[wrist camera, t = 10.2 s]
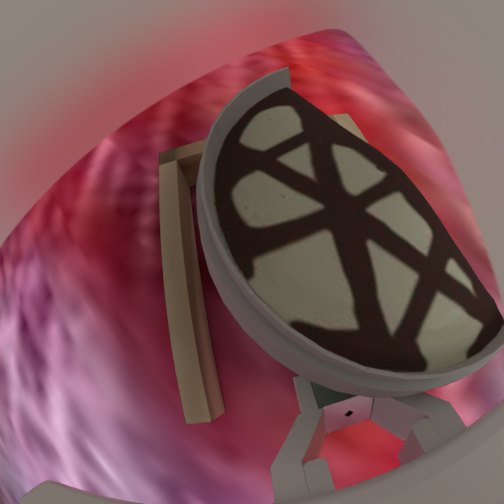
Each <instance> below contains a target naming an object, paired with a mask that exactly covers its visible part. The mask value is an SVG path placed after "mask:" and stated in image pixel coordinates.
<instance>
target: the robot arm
mask: <svg viewBox="0 0 504 504" xmlns="http://www.w3.org/2000/svg"><path fill="white" fill-rule="evenodd" d="M293 380H294V385H295V390H296V395H297V400H298V405H299V409H300V413H301V414H298V415H297V417H296V419H295V422H294V424H293V426H292V428H291V430H290V432H289V434H288V436H287V438H286V440H285V442H284V444H283V445H282V447H281V449H280V451H279V453H278V455H277V457H276V459H275V460H274V462H273V464H272V466H271V468H270V469H271V476H272V484H273V492H274V499H275V503H274V504H504V399H503V400H502V401H501V402H500V403H499V404H497V405H496V406H495V407H494V408H493V409H491V410H490V411H489V412H488V413H486V414H485V415H484V416H482V417H481V418H480V419H479V420H477V421H476V422H474V423H473V424H472V425H470V426H469V427H466V426H465V424H464V423H463V421H462V420H461V418H460V417H459V415H458V414H457V412H456V411H455V409H454V408H453V406H452V405H451V404H450V402H447V401H445V400H442V399H440V398H437V397H434V396H432V395H429V394H427V393H424V392H420V393H416V394H412V395H408V396H404V397H379V398H370V397H364V396H358V395H353V394H348V393H343V392H338V391H334V390H332V389H329V388H327V387H324V386H322V385H319V384H317V383H314V382H312V381H310V380H307V379H305V378H303V377H301V376H296V377H293ZM369 419H371V420H372V421H373V422H375V423H376V424H378V425H379V426H381V427H382V428H384V429H386V430H387V431H389V432H390V433H392V434H394V435H395V436H397V437H398V438H400V439H402V440H403V441H405V442H404V445H403V447H402V449H401V451H400V453H399V455H398V456H397V457H398V459H399V461H400V463H401V466H399V467H397V468H395V469H392V470H390V471H388V472H385V473H383V474H381V475H378V476H376V477H373V478H370V479H368V480H365V481H362V482H359V483H356V484H354V485H351V486H347V487H344V488H341V489H338V490H335V487H334V484H333V480H332V477H331V474H330V470H329V467H328V463H327V460H325V459H322V458H319V459H317V458H318V456H319V453H320V450H321V448H322V445H323V442H324V439H325V436H326V433H330V432H333V431H336V430H339V429H342V428H345V427H347V426H351V425H354V424H357V423H360V422H363V421H366V420H369ZM19 504H142V503H136V502H130V501H125V500H119V499H115V498H110V497H106V496H102V495H98V494H94V493H90V492H87V491H83V490H80V489H77V488H74V487H71V486H68V485H65V484H62V483H60V482H57V481H53V480H46V481H44V482H42V483H40V484H39V485H37V486H36V487H34V488H33V489H32V490H30V491H29V492H28V493H26V494H25V495H24V496H23V497H22V499H21V501H20V502H19Z"/></svg>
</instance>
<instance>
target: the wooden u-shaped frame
mask: <svg viewBox="0 0 504 504" xmlns="http://www.w3.org/2000/svg"><path fill="white" fill-rule="evenodd" d="M328 117H330V118H331V119H332V120H334V121H335V122H337V123H338V124H340V125H341V126H342V127H344V128H345V129H347V130H348V131H350V132H351V133H353V134H354V135H356V136H357V137H359V138H360V139H362V140H363V141H365V142H366V143H368V142H367V140H366V139H365V137H364V136H363V135H362V133H361V132H360V130H359V129H358V127H357V126H356V124H355V123H354V122H353V120H352V119H351V117H350V116H349V115H348V114H338V115H329V116H328ZM205 142H206V139H205V140H201V141H198V142H194V143H191V144H187V145H184V146H181V147H177V148H174V149H171V150H168V151H165V152H162V153H160V154H159V209H160V236H161V253H162V267H163V279H164V290H165V300H166V309H167V317H168V325H169V332H170V339H171V346H172V353H173V359H174V365H175V371H176V376H177V382H178V387H179V392H180V397H181V402H182V407H183V411H184V416H185V420H186V424H192V423H204V422H212V421H213V420H214V419H216V418H217V417H219V416H220V415H221V414H223V413H224V412H225V407H224V403H223V398H222V394H221V389H220V384H219V379H218V375H217V370H216V365H215V359H214V354H213V349H212V343H211V338H210V332H209V327H208V321H207V315H206V309H205V303H204V296H203V290H202V283H201V277H200V270H199V262H198V255H197V247H196V239H195V231H194V223H193V214H192V205H191V195H190V187H192V186H195V185H196V184H197V178H198V172H199V166H200V161H201V158H202V154H203V148H204V144H205Z"/></svg>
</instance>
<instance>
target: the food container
mask: <svg viewBox="0 0 504 504" xmlns="http://www.w3.org/2000/svg"><path fill="white" fill-rule="evenodd" d="M196 199H197V217H198V224H199V230H200V237H201V243H202V247H203V251H204V255H205V259H206V262H207V266H208V270H209V273H210V275H211V277H212V280H213V282H214V284H215V286H216V288H217V290H218V292H219V294H220V296H221V299H222V301H223V303H224V304H225V305H226V307H227V308H228V310H229V311H230V312H231V314H232V315H233V317H234V318H235V319H236V321H237V322H238V323H239V325H240V326H241V328H242V329H243V330H244V331H245V332H246V333H247V334H248V335H249V336H250V337H251V338H252V339H253V340H254V341H255V342H256V343H257V344H258V345H259V346H260V347H261V348H262V349H263V350H264V351H265V352H266V353H267V354H268V355H269V356H271V357H272V358H273V359H275V360H276V361H278V362H279V363H281V364H282V365H284V366H285V367H287V368H288V369H290V370H292V371H293V372H295V373H296V374H298V375H299V376H301V377H303V378H305V379H307V380H310V381H312V382H314V383H317V384H319V385H322V386H324V387H327V388H329V389H332V390H334V391H338V392H343V393H348V394H353V395H358V396H364V397H370V398H379V397H404V396H408V395H412V394H416V393H420V392H424V391H428V390H431V389H435V388H438V387H441V386H444V385H447V384H450V383H453V382H455V381H458V380H460V379H462V378H464V377H465V376H467V375H469V374H471V373H472V372H474V371H476V370H478V369H479V368H481V367H482V366H484V365H485V364H486V363H487V362H488V361H489V360H490V359H492V358H493V357H494V356H495V355H496V354H497V353H498V352H499V351H500V350H501V349H502V348H503V347H504V319H503V317H502V315H501V314H500V312H499V310H498V308H497V305H496V303H495V301H494V299H493V298H492V297H491V295H490V294H489V293H488V292H487V290H486V289H485V287H484V286H483V285H482V283H481V282H480V280H479V279H478V277H477V276H476V274H475V273H474V271H473V270H472V268H471V266H470V265H469V263H468V262H467V260H466V259H465V257H464V256H463V254H462V253H461V252H460V250H459V249H458V247H457V246H456V244H455V243H454V241H453V240H452V238H451V237H450V235H449V233H448V232H447V230H446V229H445V227H444V226H443V224H442V222H441V221H440V219H439V218H438V216H437V215H436V213H435V212H434V210H433V209H432V208H431V206H430V205H429V203H428V202H427V201H426V199H425V198H424V196H423V195H422V194H421V192H420V191H419V190H418V189H417V187H416V186H415V185H414V184H413V183H412V181H411V180H410V179H409V178H408V177H407V175H406V174H405V173H404V172H403V171H402V170H401V169H400V168H399V167H398V166H397V165H396V164H394V163H393V162H392V161H391V160H389V159H388V158H387V157H386V156H384V155H383V154H382V153H381V152H379V151H378V150H377V149H375V148H374V147H372V146H371V145H369V144H368V143H366V142H365V141H363V140H362V139H360V138H359V137H357V136H356V135H354V134H353V133H351V132H350V131H348V130H347V129H345V128H344V127H342V126H341V125H340V124H338V123H337V122H335V121H334V120H332V119H331V118H330V117H328V116H327V115H326V114H324V113H323V112H322V111H320V110H319V109H318V108H316V107H315V106H314V105H312V104H311V103H309V102H308V101H307V100H305V99H304V98H303V97H301V96H300V95H298V94H297V93H296V92H294V91H293V90H291V81H290V73H289V67H285V68H283V69H280V70H277V71H274V72H271V73H269V74H267V75H265V76H263V77H262V78H260V79H258V80H256V81H254V82H252V83H251V84H250V85H248V86H247V87H246V88H244V89H243V90H241V91H240V92H239V93H237V94H236V95H235V97H234V98H233V99H232V100H231V101H230V102H229V103H228V104H227V105H226V106H225V107H224V108H223V109H222V111H221V112H220V114H219V115H218V117H217V118H216V120H215V122H214V123H213V125H212V127H211V129H210V132H209V134H208V137H207V139H206V142H205V144H204V148H203V154H202V158H201V161H200V166H199V172H198V178H197V184H196Z"/></svg>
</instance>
